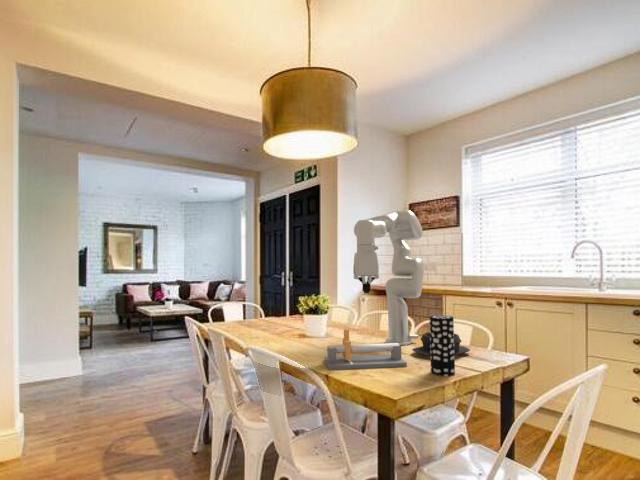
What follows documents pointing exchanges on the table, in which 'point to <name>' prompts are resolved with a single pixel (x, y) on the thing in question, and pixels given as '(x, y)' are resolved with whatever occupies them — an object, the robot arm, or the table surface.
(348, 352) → the collar
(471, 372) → the table surface
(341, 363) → the pipe rig
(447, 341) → the white-spotted black cylinder
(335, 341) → the table surface
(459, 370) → the table surface
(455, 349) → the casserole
